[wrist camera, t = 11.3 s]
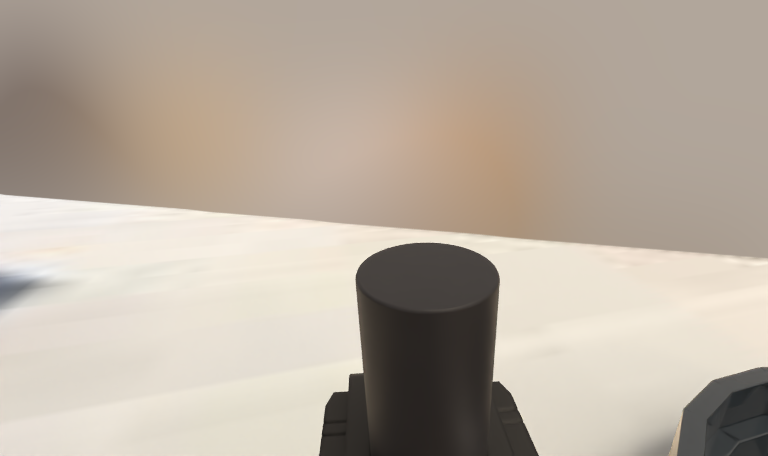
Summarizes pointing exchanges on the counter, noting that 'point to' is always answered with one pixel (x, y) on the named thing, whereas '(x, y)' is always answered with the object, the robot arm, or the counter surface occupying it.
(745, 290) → the counter surface
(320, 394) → the counter surface
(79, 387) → the counter surface
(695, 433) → the bowl
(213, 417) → the counter surface
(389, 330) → the peg on yellow base
